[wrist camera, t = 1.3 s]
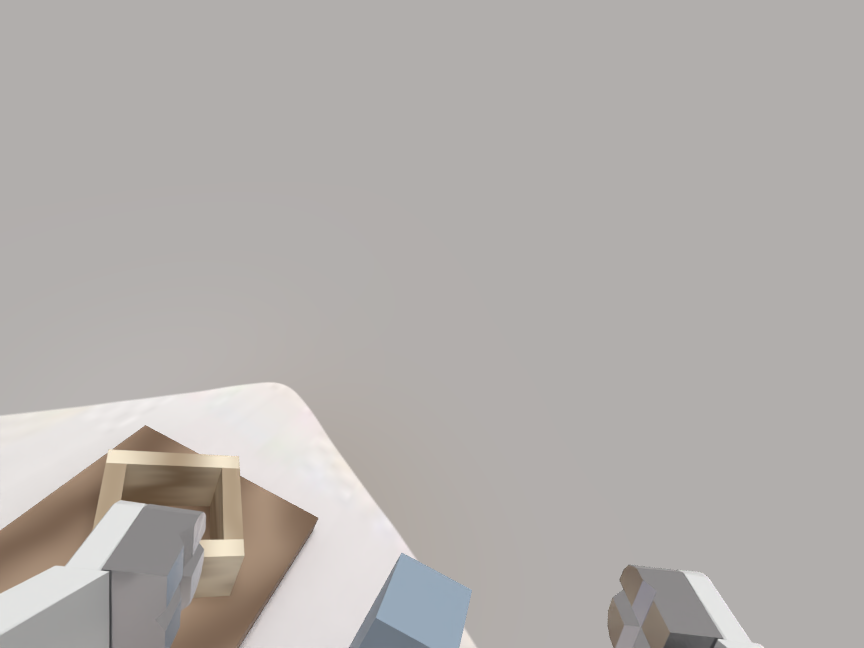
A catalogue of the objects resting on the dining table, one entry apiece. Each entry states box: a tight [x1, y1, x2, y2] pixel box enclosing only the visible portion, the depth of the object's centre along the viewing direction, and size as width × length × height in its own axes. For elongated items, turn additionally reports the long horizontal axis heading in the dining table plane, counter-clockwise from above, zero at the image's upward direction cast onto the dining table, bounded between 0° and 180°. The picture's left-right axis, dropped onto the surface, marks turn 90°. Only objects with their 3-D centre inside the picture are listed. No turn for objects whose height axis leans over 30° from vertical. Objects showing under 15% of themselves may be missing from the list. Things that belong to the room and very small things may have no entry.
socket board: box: [0, 425, 318, 648], centre depth 36 cm, size 16×16×6 cm
